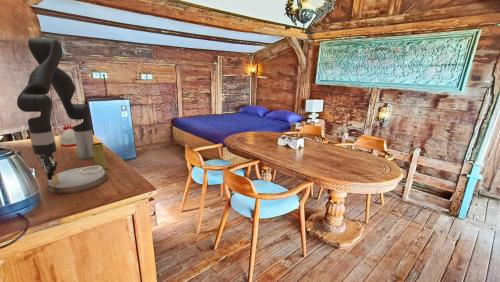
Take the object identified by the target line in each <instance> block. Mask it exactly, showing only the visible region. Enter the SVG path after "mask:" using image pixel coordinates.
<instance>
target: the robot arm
mask: <svg viewBox="0 0 500 282" xmlns="http://www.w3.org/2000/svg"><path fill="white" fill-rule="evenodd" d="M27 44H28V49H29V51H30V53H31V55H32V56H33V58H34V59H35V60H36V62H37V63H38V65H37V66H36V67H35V68H34V69H33V70H32V71H31V73H30V75H29V78H28V82H27V85H26V86H25V87H24V88H23V90H22V91H21V92H20V93H19V94H18V96H17V99H16V106H17V107H18V109H19V110H21V111H22V112H24V113H25V112H26V113H40V115H39V116H35V117H32V118H29V119H27V125H28V129H29V137H30V138H29V139H30V143H31V146H32V147H31V148H32V151H33V154H34V155H37V156H39V157H37V160H38V162H39V164H40V167H41V168H42V170H44V172H45V174H46V179H47V181H48V180H52V176H53V175H55V171H56V170H57V167H58V162H57V161H55V156H54V155H53V154H54V153H55V152H57V145H56V139H55V135H54V132H53V128H52V123H51V115H52V110H53V109H52V108H53V101H52V99H51V97H50V96H49V95H48V94H49V92H50V90H51V86H52V88H53V90H54V91H55V93H56V95H57V97H58V98H59V100H60V102H61V104H62V106H63V108H64V110H65V113H66V115H67V117H68V119H70V120H82V122H81V123H79V124H75V125H73V130H74V135H75V140H76V146H75V147H76V151H77V156H78V159H81V160H82V159H83V160H85V159H92V158H93V152H92V144H94V143H95V141H94V134H93V128H92V120H91V118H92V117H91V110H90V107H89V105H88V104H86V103H72V98H73V97H74V95H75V92H76V86H75V84H74V81H73V79H72V78H71V76H70V75H69V74H68V73H66V72H65V71H64V70H62V69H61V68H60V67H59V64H60V63H61V61H62V57H63V47H62V45H61V42H60V41H58V40H57V39H55V38H51V37H50V38H47V37H46V38H45V37H29V39H28V41H27Z"/></svg>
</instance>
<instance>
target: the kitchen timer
mask: <svg viewBox="0 0 500 282" xmlns="http://www.w3.org/2000/svg"><path fill="white" fill-rule="evenodd" d="M73 127H74V125H71V124H67V125H66V124H64V125H63V126H62V129H63V130H64V131H63V132H62V135H61V134H60V135H61V139H59V140H60V141H59V145H60V147H62V148H69V147H70V148H71V147H72V148H73V147H77V146H76V140H75V135H74V130H73Z"/></svg>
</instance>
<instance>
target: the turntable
mask: <svg viewBox="0 0 500 282" xmlns="http://www.w3.org/2000/svg"><path fill="white" fill-rule="evenodd" d="M105 171H106V170H105V169H103V168H102V167H101V166H99V165H98V166H94V165H90V166H84V167H77V168H71V169H67V170H64V171H61V172H59V173H56V174H54V175H53V176H52V180H48V179H47V182H49V185H50V186H51V187H52V186H54V187H55V188H59V189H65V188H75V187H80V186H84V185H88V184H91V183H93V182H96V181H98V180H100V179H101V178H103V177H104V175H105Z"/></svg>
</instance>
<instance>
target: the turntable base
mask: <svg viewBox="0 0 500 282" xmlns="http://www.w3.org/2000/svg"><path fill="white" fill-rule="evenodd" d="M104 171H105V175H104V177H103V178H101V179H100V180H98V181H96V182H93V183H91V184H88V185H84V186H80V187H75V188H65V189H59V188H55V187H54V186H52V187H51V186H50V185H49V182H48V181H47V182H46V184H45V186H46V190H47V192H49V193H51V194H54V195H55V194H56V195H67V194H76V193H81V192H84V191H88V190H89V191H90V190H91V189H94V188H97V187H99V186H101V185H102V184H104V183H105V182H106V181H108V179H109V177H108V172H107V171H106V170H104ZM96 186H97V187H96Z"/></svg>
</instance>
